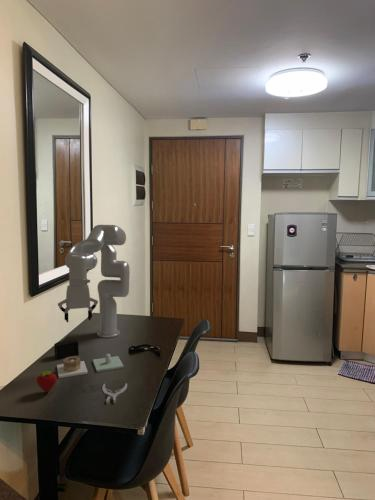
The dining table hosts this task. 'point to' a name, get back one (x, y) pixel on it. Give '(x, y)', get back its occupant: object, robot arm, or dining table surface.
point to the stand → (67, 374)
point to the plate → (107, 363)
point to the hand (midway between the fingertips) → (78, 320)
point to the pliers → (112, 395)
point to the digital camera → (66, 349)
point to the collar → (71, 363)
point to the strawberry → (46, 380)
